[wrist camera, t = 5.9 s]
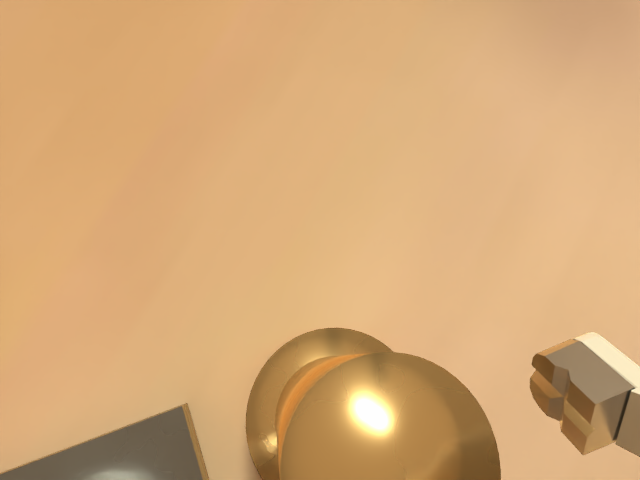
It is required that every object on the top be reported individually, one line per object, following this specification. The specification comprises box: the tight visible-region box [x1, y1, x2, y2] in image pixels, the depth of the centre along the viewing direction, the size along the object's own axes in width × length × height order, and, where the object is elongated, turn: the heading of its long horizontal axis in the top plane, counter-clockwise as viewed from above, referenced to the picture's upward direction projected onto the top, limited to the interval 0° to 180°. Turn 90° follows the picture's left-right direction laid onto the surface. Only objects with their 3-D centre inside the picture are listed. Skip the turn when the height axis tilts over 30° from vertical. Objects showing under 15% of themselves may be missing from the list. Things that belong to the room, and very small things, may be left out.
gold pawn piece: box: [246, 328, 501, 480], centre depth 12 cm, size 6×6×9 cm
